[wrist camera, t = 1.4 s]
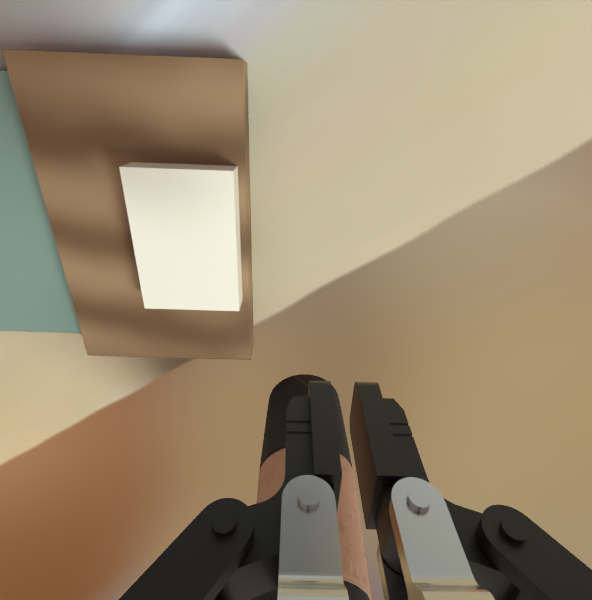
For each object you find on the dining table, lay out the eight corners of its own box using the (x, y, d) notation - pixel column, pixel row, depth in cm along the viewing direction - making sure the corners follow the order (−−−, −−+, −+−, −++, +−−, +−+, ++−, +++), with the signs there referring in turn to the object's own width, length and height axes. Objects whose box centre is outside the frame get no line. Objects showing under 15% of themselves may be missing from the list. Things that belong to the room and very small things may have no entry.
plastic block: (131, 162, 25) (119, 166, 23) (237, 165, 25) (233, 171, 23) (153, 295, 29) (144, 308, 28) (242, 298, 30) (239, 311, 28)
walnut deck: (28, 53, 24) (1, 49, 22) (247, 62, 24) (242, 59, 22) (101, 338, 34) (87, 355, 32) (253, 343, 35) (250, 359, 32)
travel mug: (335, 430, 40) (367, 691, 22) (264, 425, 40) (239, 686, 22) (346, 374, 36) (395, 632, 19) (268, 368, 36) (242, 626, 18)
